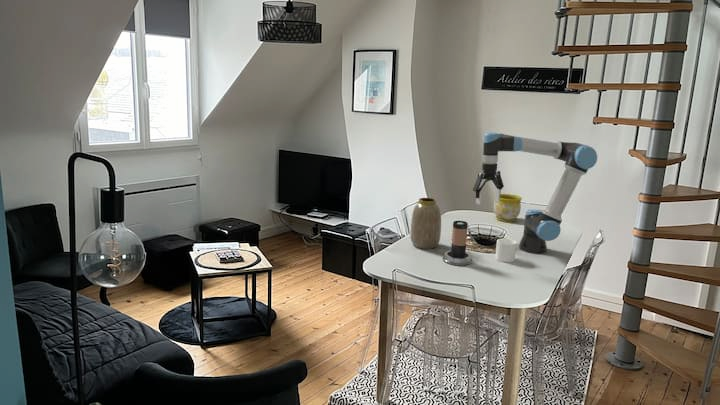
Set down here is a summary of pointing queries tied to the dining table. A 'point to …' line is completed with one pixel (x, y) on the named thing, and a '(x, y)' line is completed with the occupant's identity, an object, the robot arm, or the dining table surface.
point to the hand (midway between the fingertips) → (487, 202)
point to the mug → (505, 250)
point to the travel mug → (459, 239)
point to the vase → (426, 224)
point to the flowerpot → (507, 207)
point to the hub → (457, 259)
